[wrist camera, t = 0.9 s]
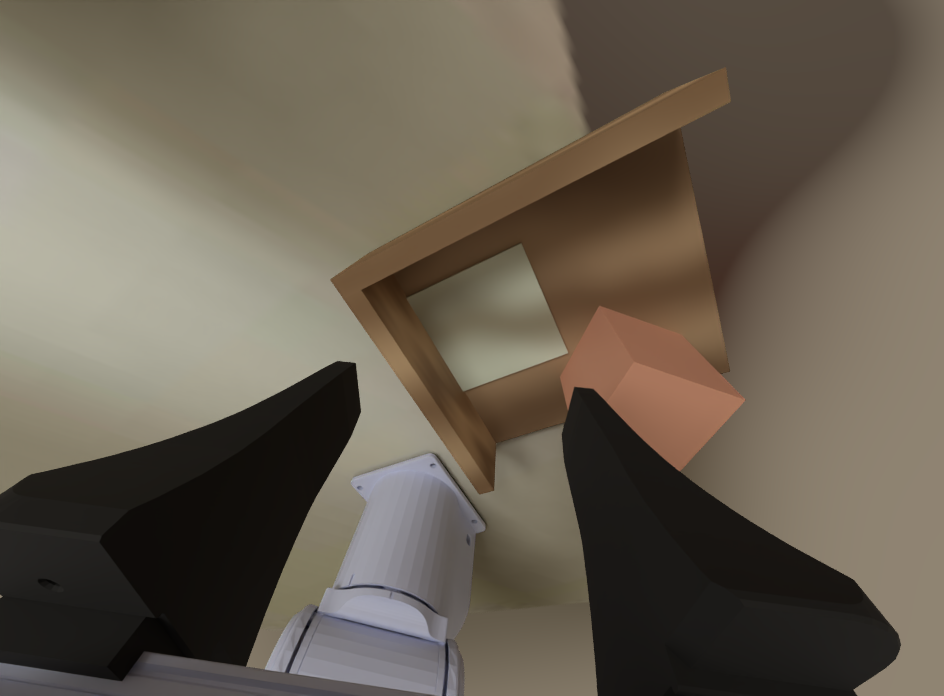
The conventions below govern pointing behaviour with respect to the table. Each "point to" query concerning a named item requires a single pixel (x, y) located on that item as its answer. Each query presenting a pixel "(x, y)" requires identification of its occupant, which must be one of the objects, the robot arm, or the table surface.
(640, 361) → the cube
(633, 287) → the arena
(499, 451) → the table surface
